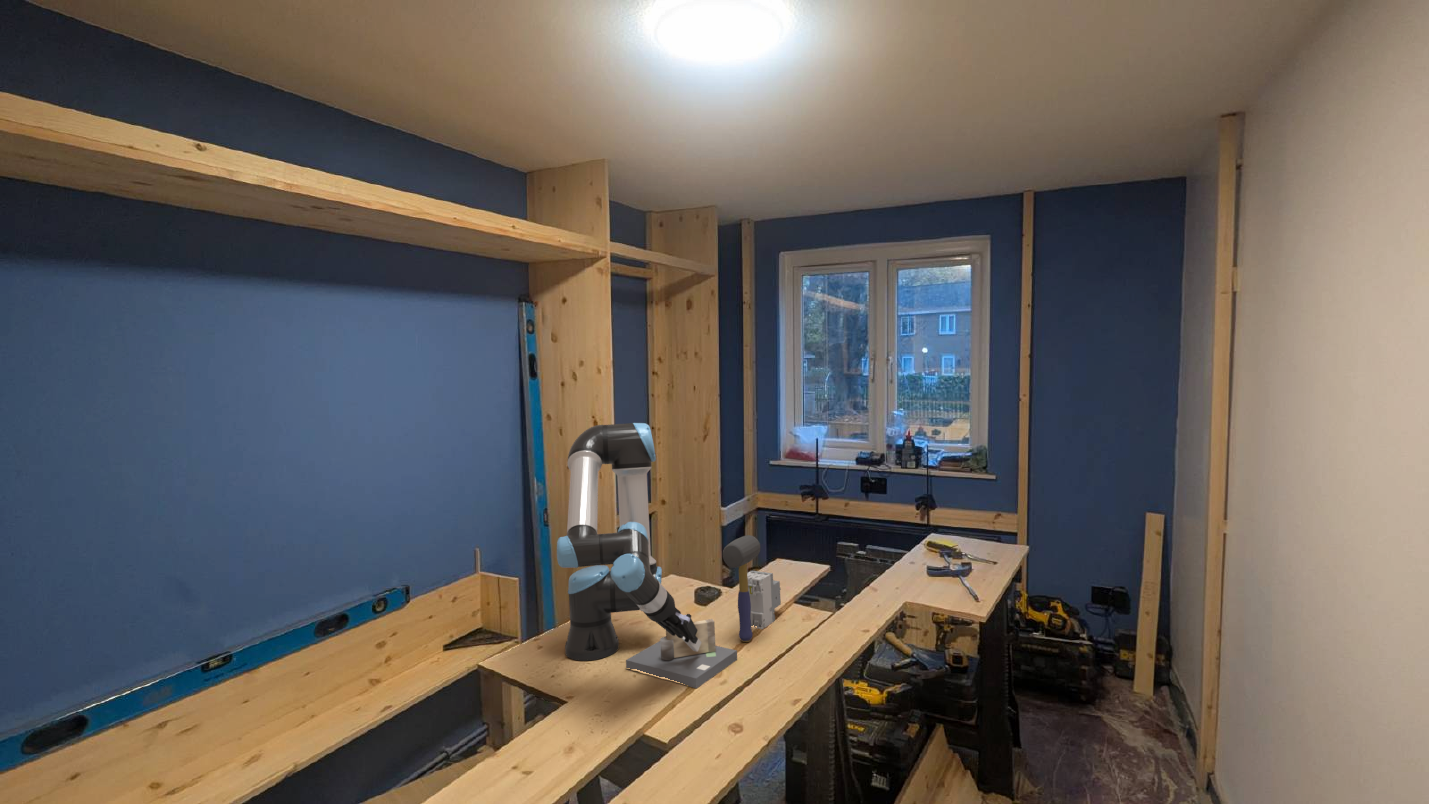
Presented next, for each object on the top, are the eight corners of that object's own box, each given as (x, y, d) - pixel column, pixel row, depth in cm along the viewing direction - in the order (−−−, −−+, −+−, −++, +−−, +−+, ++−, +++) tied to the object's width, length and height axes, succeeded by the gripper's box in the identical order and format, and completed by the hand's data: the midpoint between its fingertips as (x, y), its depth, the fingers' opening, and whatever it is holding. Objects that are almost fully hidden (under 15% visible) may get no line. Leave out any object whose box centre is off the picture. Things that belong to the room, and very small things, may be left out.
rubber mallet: (748, 651, 178) (743, 544, 177) (724, 647, 181) (719, 542, 181) (766, 635, 189) (761, 534, 188) (743, 631, 192) (739, 532, 192)
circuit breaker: (783, 614, 205) (781, 568, 205) (762, 629, 193) (760, 580, 193) (763, 611, 209) (760, 565, 209) (741, 625, 197) (739, 577, 197)
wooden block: (662, 661, 167) (661, 630, 167) (659, 656, 170) (658, 626, 170) (716, 652, 171) (715, 622, 171) (712, 647, 175) (711, 617, 175)
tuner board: (626, 669, 170) (625, 659, 170) (670, 643, 185) (669, 635, 185) (696, 688, 157) (696, 678, 157) (737, 659, 173) (736, 650, 172)
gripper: (627, 610, 157) (672, 655, 171) (669, 618, 150) (712, 664, 163) (641, 583, 161) (683, 629, 175) (681, 590, 154) (722, 637, 168)
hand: (697, 646), depth 169 cm, fingers closed
